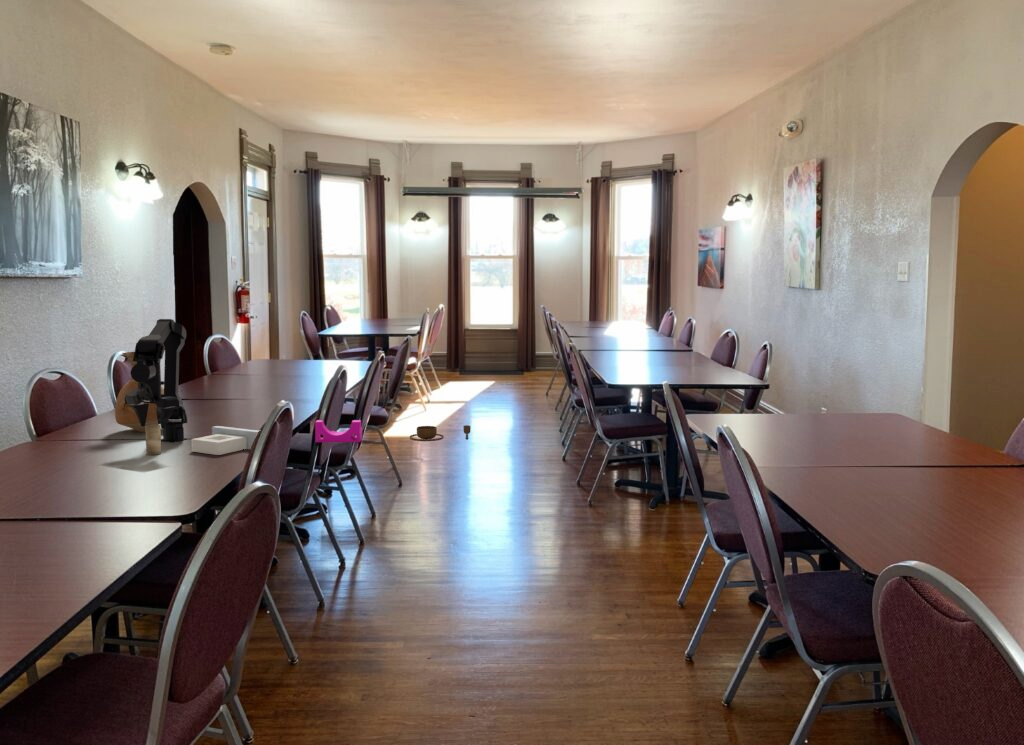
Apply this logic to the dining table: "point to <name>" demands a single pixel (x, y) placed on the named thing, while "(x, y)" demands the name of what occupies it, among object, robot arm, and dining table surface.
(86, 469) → the dining table surface
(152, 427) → the dowel
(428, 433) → the place setting
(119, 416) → the jug
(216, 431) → the board
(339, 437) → the toy block
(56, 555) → the dining table surface
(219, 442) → the socket block
